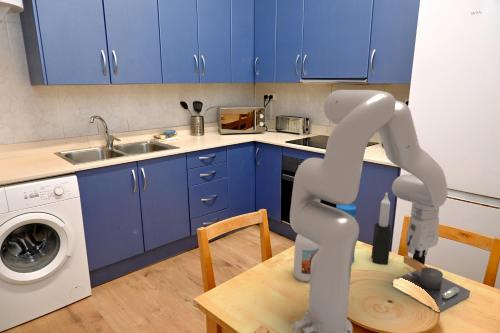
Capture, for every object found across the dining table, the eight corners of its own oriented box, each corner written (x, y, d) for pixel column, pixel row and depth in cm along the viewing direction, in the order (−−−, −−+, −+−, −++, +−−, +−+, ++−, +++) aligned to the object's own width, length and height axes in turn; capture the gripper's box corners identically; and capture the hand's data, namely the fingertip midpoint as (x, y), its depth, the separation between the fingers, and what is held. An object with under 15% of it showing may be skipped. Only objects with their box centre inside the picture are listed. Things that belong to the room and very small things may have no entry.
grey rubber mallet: (445, 287, 101) (447, 273, 100) (431, 291, 99) (433, 277, 98) (410, 266, 113) (412, 254, 112) (397, 269, 111) (399, 257, 110)
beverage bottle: (354, 267, 117) (359, 211, 112) (328, 263, 119) (332, 208, 115) (354, 256, 124) (359, 203, 120) (330, 252, 127) (334, 200, 122)
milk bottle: (291, 279, 109) (293, 220, 104) (295, 267, 116) (298, 211, 111) (316, 284, 107) (319, 223, 102) (318, 271, 114) (322, 214, 109)
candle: (388, 265, 118) (396, 195, 113) (372, 263, 119) (379, 194, 114) (385, 258, 123) (393, 191, 117) (370, 256, 124) (377, 190, 118)
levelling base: (438, 313, 94) (440, 300, 93) (391, 285, 106) (392, 274, 105) (469, 296, 101) (471, 285, 100) (422, 273, 113) (423, 262, 113)
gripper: (420, 221, 99) (413, 278, 104) (450, 211, 107) (443, 265, 111) (398, 212, 106) (392, 266, 110) (428, 204, 113) (421, 255, 117)
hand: (417, 265), depth 111 cm, fingers closed
